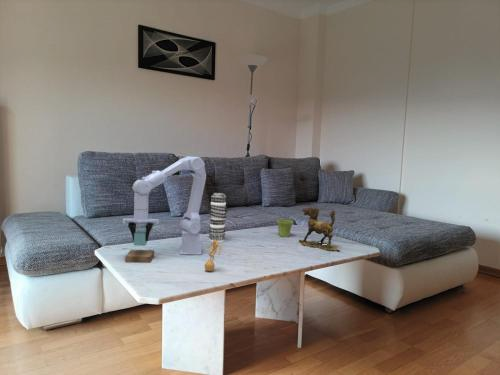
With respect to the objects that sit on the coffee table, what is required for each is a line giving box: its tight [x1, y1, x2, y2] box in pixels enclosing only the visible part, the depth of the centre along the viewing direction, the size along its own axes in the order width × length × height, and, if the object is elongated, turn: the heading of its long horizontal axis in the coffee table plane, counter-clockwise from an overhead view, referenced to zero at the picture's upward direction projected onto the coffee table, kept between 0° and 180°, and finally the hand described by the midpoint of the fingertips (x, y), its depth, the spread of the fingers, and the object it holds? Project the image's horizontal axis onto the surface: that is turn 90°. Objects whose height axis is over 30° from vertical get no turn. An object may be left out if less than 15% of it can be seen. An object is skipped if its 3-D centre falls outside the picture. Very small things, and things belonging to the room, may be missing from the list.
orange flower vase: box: [204, 241, 222, 272], centre depth 142 cm, size 8×6×12 cm
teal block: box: [133, 230, 148, 247], centre depth 152 cm, size 4×4×5 cm
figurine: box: [298, 206, 341, 253], centre depth 188 cm, size 13×25×20 cm, turn 41°
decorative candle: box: [208, 192, 228, 243], centre depth 190 cm, size 9×9×25 cm
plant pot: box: [276, 219, 294, 238], centre depth 208 cm, size 9×9×9 cm
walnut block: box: [125, 249, 155, 264], centre depth 153 cm, size 10×10×3 cm
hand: (140, 240), depth 152 cm, fingers closed on teal block, 4 cm apart
